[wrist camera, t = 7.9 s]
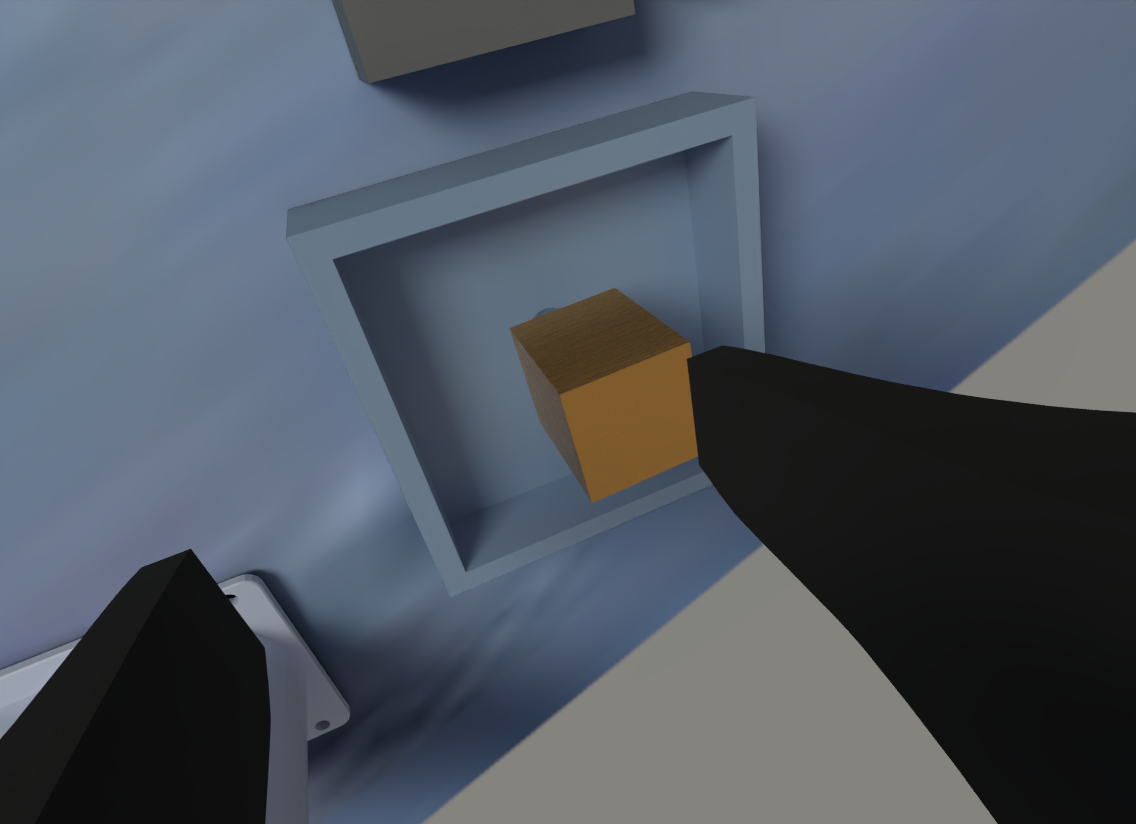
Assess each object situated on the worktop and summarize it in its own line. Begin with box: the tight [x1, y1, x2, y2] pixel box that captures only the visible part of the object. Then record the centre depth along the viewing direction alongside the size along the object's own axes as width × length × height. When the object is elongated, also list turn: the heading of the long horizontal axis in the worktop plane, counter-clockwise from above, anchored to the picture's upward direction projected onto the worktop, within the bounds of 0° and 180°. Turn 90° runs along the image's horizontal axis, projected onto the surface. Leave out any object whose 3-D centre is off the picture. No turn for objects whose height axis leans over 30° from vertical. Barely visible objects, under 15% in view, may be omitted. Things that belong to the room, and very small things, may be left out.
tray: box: [286, 92, 765, 597], centre depth 19 cm, size 11×11×3 cm
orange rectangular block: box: [509, 288, 698, 503], centre depth 17 cm, size 3×3×6 cm
